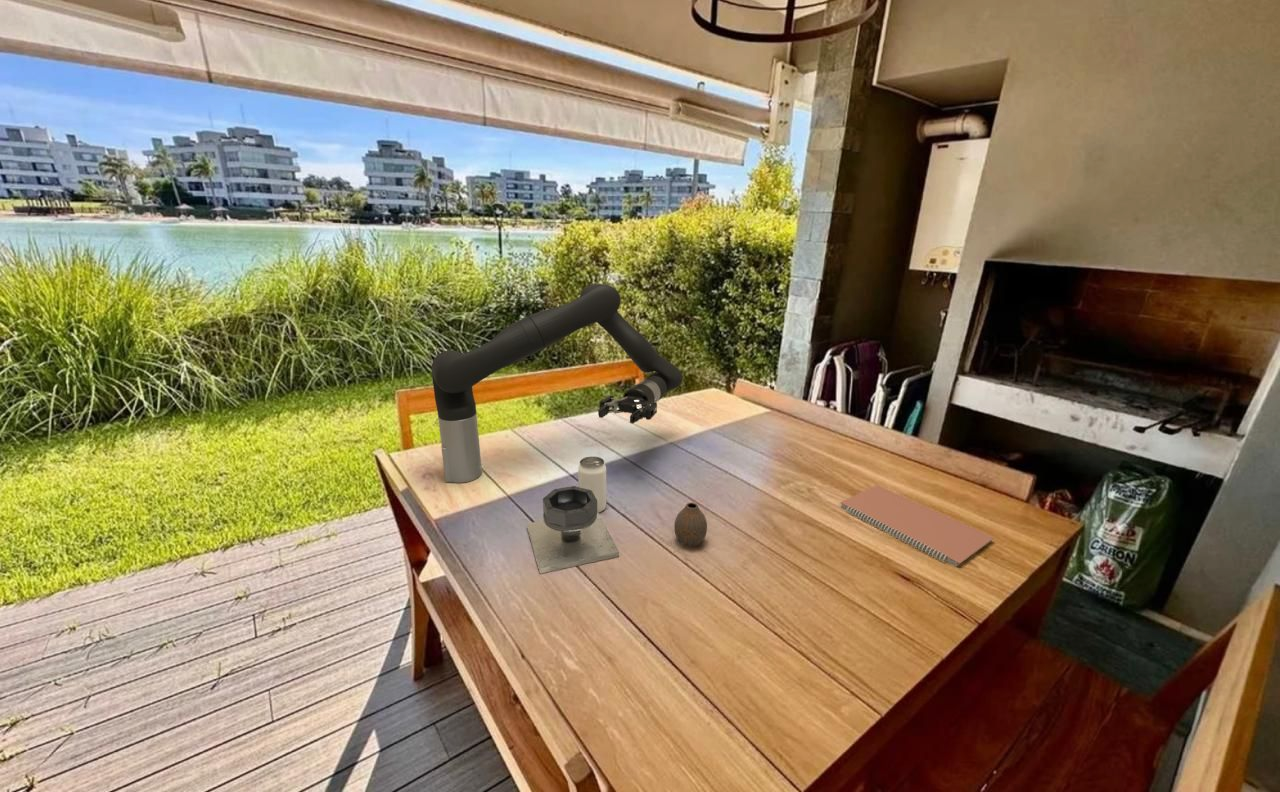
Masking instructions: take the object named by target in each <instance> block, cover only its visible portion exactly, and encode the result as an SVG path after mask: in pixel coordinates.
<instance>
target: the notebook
mask: <svg viewBox="0 0 1280 792" xmlns="http://www.w3.org/2000/svg"><path fill="white" fill-rule="evenodd" d="M839 504H841V507H840V508H841V509H843V510H844V511H846V512H845V513H846V514H847V513H848V514H849V515H851V517H853V516H854V518H856V519H859V520H860V521H862V522H863V523H864V521H865V523H866V524H867V523H868V525H870V524H871V527H874V528H876V529H877V530H879V531H882V532H883V533H885V534H888V536H891V537H892V538H893V537H895V539H897V538H898V541H900V539H901V542H902V543H903V542H904V544H907V545H908V546H910V545H911V546H910V547H911V548H913V546H914V549H917V551H921V553H924V555H926V554H927V555H928V556H929V557H930V555H931V558H934V559H935V560H937V559H938V562H941V563H942V564H944V563H945V562H946V563H947V564H949V565H951V566H953V567H955V568H957V567H959V566H960V565H961V564H963V563H964V562H965V561H967V560H968V559H969V558H971V556H973V555H974V554H976V553H977V552H979V551H980V550H981V549H982V548H984V547H985V546H987V545H988V544H989V543H991V542H992V540H994V539H995V537H994V536H992V535H990V534H988V533H986V532H983V531H981V530H979V529H976V528H974V527H972V526H970V525H967V524H965V523H963V522H960V521H958V520H956V519H955V518H952V517H949V516H947V515H946V514H943V513H940V512H938V511H936V510H934V509H932V508H929V507H927V506H925V505H923V504H920V503H918V502H916V501H914V500H912V499H909V498H907V497H904V496H903V495H900V494H898V493H896V492H894V491H892V490H889V489H888V488H885V487H882V486H880V485H878V484H876V485H874V486H872V487H870V488H867V489H865V490H863V491H861V492H859V493H857V494H855V495H853V496H851V497H849V498H846V499H845V500H842V501H840V502H839ZM923 551H924V552H923ZM941 560H942V561H941Z"/></svg>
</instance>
